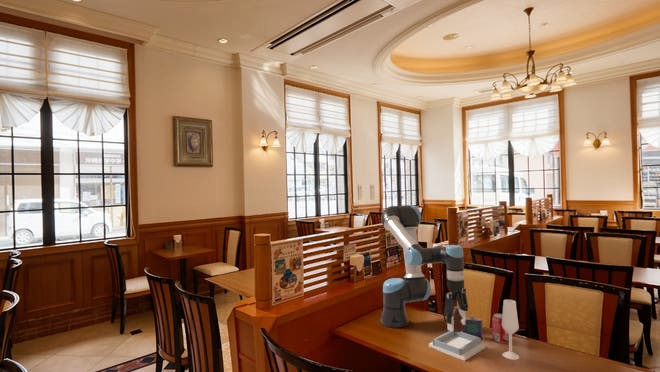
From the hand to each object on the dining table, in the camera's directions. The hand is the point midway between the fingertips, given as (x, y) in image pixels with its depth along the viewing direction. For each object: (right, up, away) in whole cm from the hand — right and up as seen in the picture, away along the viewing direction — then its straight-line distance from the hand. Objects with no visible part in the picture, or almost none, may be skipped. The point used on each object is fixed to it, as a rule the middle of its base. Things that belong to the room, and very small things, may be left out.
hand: (456, 327), depth 166 cm
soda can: (+23, -9, +7) cm, 26 cm away
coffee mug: (+6, -10, +22) cm, 25 cm away
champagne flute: (+21, -9, -9) cm, 24 cm away
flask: (+12, -9, +11) cm, 19 cm away
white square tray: (0, -9, 0) cm, 9 cm away
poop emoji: (0, -1, 0) cm, 1 cm away
